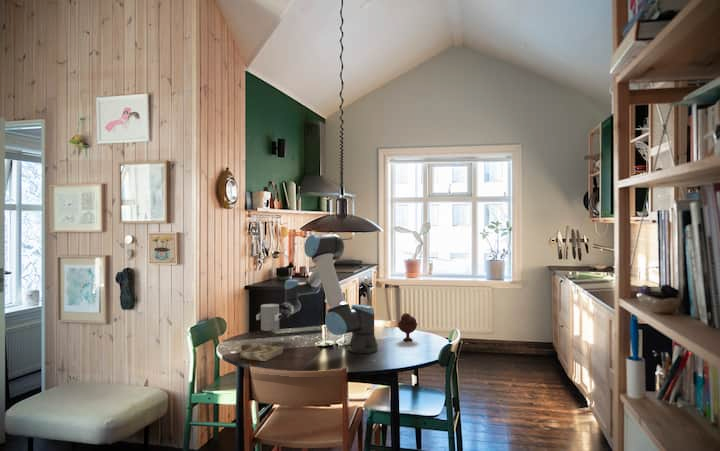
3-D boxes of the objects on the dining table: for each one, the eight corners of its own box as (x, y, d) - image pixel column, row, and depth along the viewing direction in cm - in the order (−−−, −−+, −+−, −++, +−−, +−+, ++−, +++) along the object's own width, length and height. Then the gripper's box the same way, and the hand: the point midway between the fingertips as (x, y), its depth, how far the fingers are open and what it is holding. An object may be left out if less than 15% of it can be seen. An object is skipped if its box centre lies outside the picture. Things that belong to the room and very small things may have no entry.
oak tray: (282, 353, 247) (282, 347, 247) (265, 361, 233) (265, 355, 233) (258, 350, 253) (258, 344, 253) (240, 357, 240) (240, 351, 240)
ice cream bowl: (396, 342, 266) (396, 315, 266) (400, 337, 277) (399, 311, 277) (416, 343, 263) (415, 315, 263) (418, 338, 274) (418, 312, 274)
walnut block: (251, 350, 253) (251, 343, 253) (248, 352, 249) (248, 345, 249) (243, 350, 253) (243, 343, 253) (241, 352, 249) (241, 345, 249)
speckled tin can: (275, 331, 247) (274, 307, 247) (257, 330, 249) (257, 306, 249) (282, 327, 257) (281, 303, 256) (265, 326, 259) (265, 303, 259)
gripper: (303, 317, 267) (285, 326, 246) (266, 315, 273) (246, 324, 252) (303, 304, 267) (285, 311, 246) (266, 302, 273) (246, 309, 252)
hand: (266, 317), depth 249 cm, fingers closed on speckled tin can, 9 cm apart
